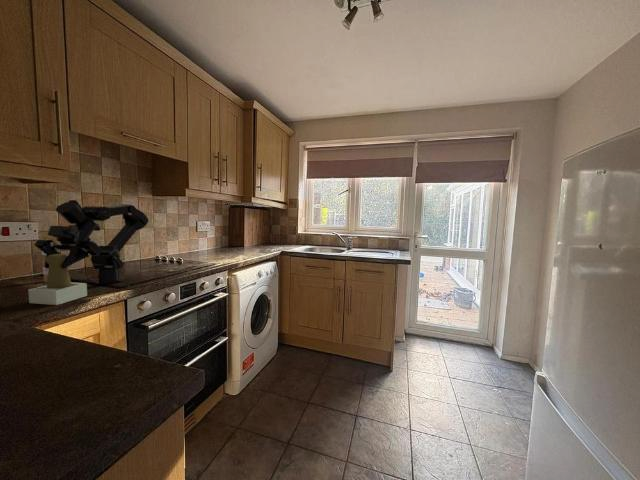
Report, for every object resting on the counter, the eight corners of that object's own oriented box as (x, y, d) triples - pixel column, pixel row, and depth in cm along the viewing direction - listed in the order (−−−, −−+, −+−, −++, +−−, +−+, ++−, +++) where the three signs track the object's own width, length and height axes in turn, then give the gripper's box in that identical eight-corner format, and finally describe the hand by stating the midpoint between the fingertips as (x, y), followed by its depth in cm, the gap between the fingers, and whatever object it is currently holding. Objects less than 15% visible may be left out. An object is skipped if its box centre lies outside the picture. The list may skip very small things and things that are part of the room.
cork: (47, 289, 86) (44, 256, 84) (46, 286, 90) (43, 254, 88) (72, 286, 90) (70, 254, 89) (70, 282, 94) (68, 252, 93)
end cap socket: (62, 294, 96) (61, 281, 95) (87, 295, 94) (86, 283, 94) (29, 303, 86) (28, 289, 85) (56, 304, 85) (55, 291, 84)
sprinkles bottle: (43, 283, 108) (41, 250, 107) (44, 281, 112) (42, 249, 111) (58, 281, 112) (56, 250, 110) (59, 279, 115) (57, 248, 114)
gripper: (37, 216, 91) (3, 253, 81) (92, 217, 92) (65, 254, 82) (60, 236, 100) (32, 272, 90) (111, 238, 100) (88, 273, 91)
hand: (54, 267), depth 88 cm, fingers closed on cork, 5 cm apart
